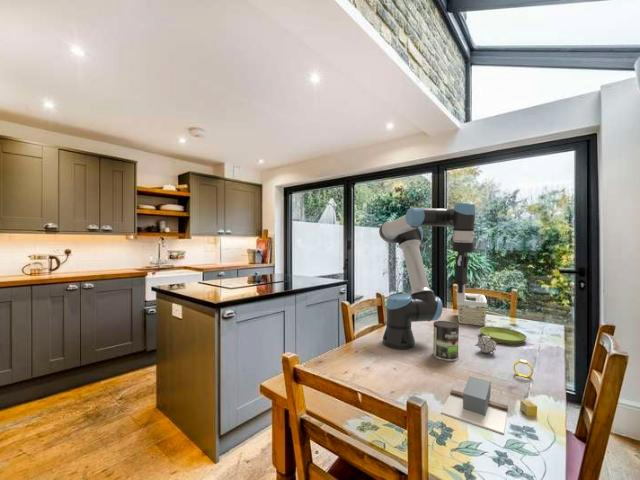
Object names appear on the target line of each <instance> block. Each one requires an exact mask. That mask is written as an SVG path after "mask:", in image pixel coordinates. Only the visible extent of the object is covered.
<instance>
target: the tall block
mask: <svg viewBox="0 0 640 480" xmlns="http://www.w3.org/2000/svg"><path fill="white" fill-rule="evenodd" d="M491 383H492V381H491V379H487V378H482V377H478V376H475V375H471V374H470V375H469V376H468V379H467V381H466V384H465V387H464V389H463V392H462V393H463V409H466V410H469V411H472V412H475V413H478V414H481V415H484V416H486V412H487V408H488V404H489V400H490V399H491V396H492V395H491V394H492V393H491V391H492V390H491V386H492V385H491ZM490 401H491V400H490Z"/></svg>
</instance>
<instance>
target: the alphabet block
mask: <svg viewBox="0 0 640 480" xmlns="http://www.w3.org/2000/svg"><path fill="white" fill-rule="evenodd" d="M519 402H520V404H519V405H520V406H519V410H520V411H522V413H524V414H525V415H526V416H527V417H538V405H536V404H534V403H533V402H532V401H531V400H528V399H527V400H524V399H523V400H522V399H521V400H520V401H519Z"/></svg>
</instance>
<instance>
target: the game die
mask: <svg viewBox="0 0 640 480" xmlns="http://www.w3.org/2000/svg"><path fill="white" fill-rule="evenodd" d="M477 340H478V341H477V344H475V345H474V346H476V347H478V348H479V349H480V351H482V352H484V355H486V354H489V353H493V354H495V352H494V351H496V350H497V349H496V346H497V344H499V343H498V342H495V341H494V340H493V338H491V337H490V336H489V334H488V335H487V336H483V335H482V334H479V337H478V338H477Z"/></svg>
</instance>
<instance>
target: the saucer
mask: <svg viewBox="0 0 640 480" xmlns="http://www.w3.org/2000/svg"><path fill="white" fill-rule="evenodd" d="M478 330H479V333H480V335H481V336H487V335H488V334H489V336H490V337H491V338H493V340H494V341H495V342H496V343H497V342H498V344H503V345H519V344H522V343H523V342H525V341H526V340H527V338H528V337H527V335H525V334H524V333H523V332H520V331H518V330H514V329H511V328H506V327H500V326H482V327H480V328H479V329H478Z"/></svg>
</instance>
